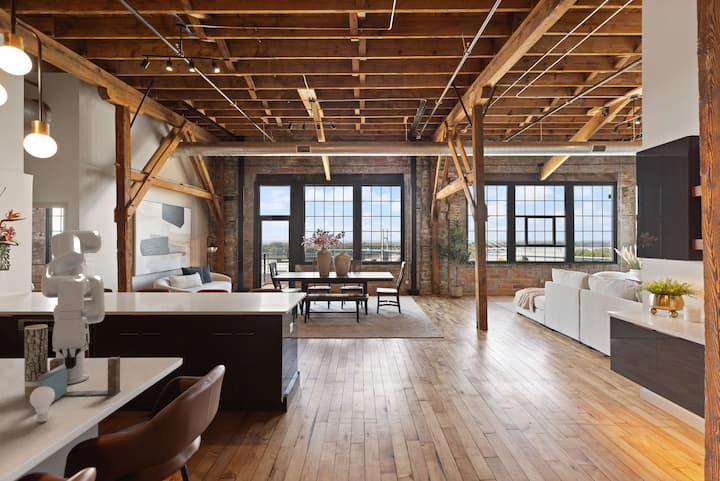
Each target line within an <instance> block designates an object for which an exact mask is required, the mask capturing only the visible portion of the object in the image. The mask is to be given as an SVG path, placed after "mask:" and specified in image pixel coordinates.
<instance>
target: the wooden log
mask: <svg viewBox="0 0 720 481" xmlns="http://www.w3.org/2000/svg"><path fill="white" fill-rule="evenodd" d="M48 328H49V327H48V324H43V323H41V324H40V323H39V324H31V325H27V326H26V325H25V327H24V370H23V371H24V375H23V376H24V382H23V383H24V396H25V398H29V399H30V395H31V393H32V392H33V391H34V390H35V389H36V388H38V377H39V376H41V375H43V374H45V373H47V372H48V370H49V369H48V368H49V366H48V363H49V362H48V358H49V357H48V355H49V354H48V352H49V351H48V349H49V348H48V347H49V346H48V342H49V340H48V339H49V338H48V332H49V330H48Z"/></svg>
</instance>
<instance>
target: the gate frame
mask: <svg viewBox="0 0 720 481" xmlns="http://www.w3.org/2000/svg"><path fill="white" fill-rule="evenodd" d="M61 365H63V358H56V357H54V358H53V359H50V360H49V370H50V371H51V370H53V369H55V368H57V367H59V366H61ZM121 392H122V391H121V356H111V357H109V358H107V390H74V391H67V393H65V394H64V395H62V396H60V397H59V398H66V397H67V398H69V397H71V398H72V397H73V398H74V397H77V398H78V397H100V396H101V397H102V396H105V397H107V396H116V395H118V394H119V393H121Z"/></svg>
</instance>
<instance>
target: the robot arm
mask: <svg viewBox="0 0 720 481" xmlns="http://www.w3.org/2000/svg"><path fill="white" fill-rule="evenodd" d="M101 248H102V237H101V235H100V233H99V231H96V230H92V229H91V230H86V229H85V230H83V229H82V230H81V229H80V230H79V229H78V230H75V229H74V230H73V229H70V230H65V231H61V233H56V234H53V235H52V236H51V238H50V249H51V252H52V256H53V259H52V260H50V261H49V262H48V263H47V264H46V265H45V267H44V268H43V270H42V272H41V281H40V282H41V283H40V290H41V291H40V292H41V294H42V295H43V296H44V297H45V298H49V299H53V298H54V299H56V298H57V304H56V305H55V306H54V309H53V319H54V324H53V328H52V330H53V331H52V340H51V341H52V352H55V358H63V364H65V366H66V369H67V385H71V384H76V383H81V382H83V381H87V380H88V379H89V378H90V374H89V373H86V372H85V351H87V350H89V343H90V330H89V325H91V324H97V323H101V322H103V320H104V319H105V314H106V313H105V312H106V310H105V285H104V280H103V279H102V277H101V276H99V275H95V274H92V275H91V274H89V275H86V274H85V275H84V273H83V269H84V267H83V265H84V264H83V263H84V261H85V254H96V253H99V251H100V250H101ZM84 299H86V300H84ZM87 299H89V300H87ZM49 371H50V369H48V372H49Z"/></svg>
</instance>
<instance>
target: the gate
mask: <svg viewBox="0 0 720 481" xmlns="http://www.w3.org/2000/svg"><path fill="white" fill-rule="evenodd" d="M41 386H48V387H51V388H52V389H53V390H54V392H55V398H54V400H53V402H54V401H56V400H58V399H59V398H61V397H60V396H62V395H64V394H65V393H67V392H68V384H67V369H66V366H65V364H63V365H61V366H59V367H57V368H55V369H53V370H51V371H49V372H47V373H45V374H43V375H41V376H39V377H38V387H41Z"/></svg>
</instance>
